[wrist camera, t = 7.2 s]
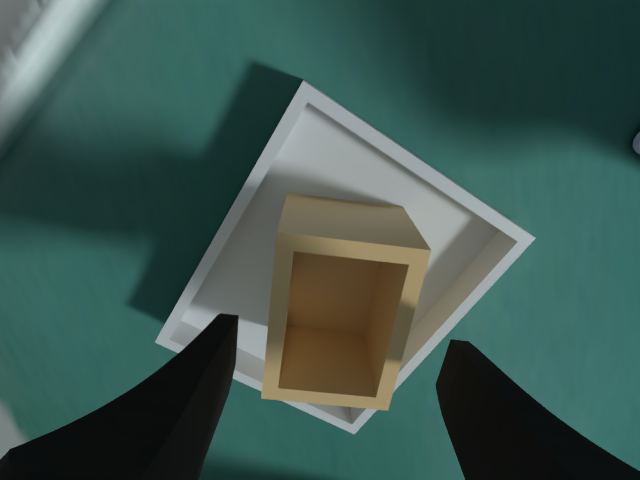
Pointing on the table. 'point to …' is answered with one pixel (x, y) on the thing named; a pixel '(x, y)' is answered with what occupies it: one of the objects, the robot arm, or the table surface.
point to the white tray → (350, 184)
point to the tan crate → (341, 301)
